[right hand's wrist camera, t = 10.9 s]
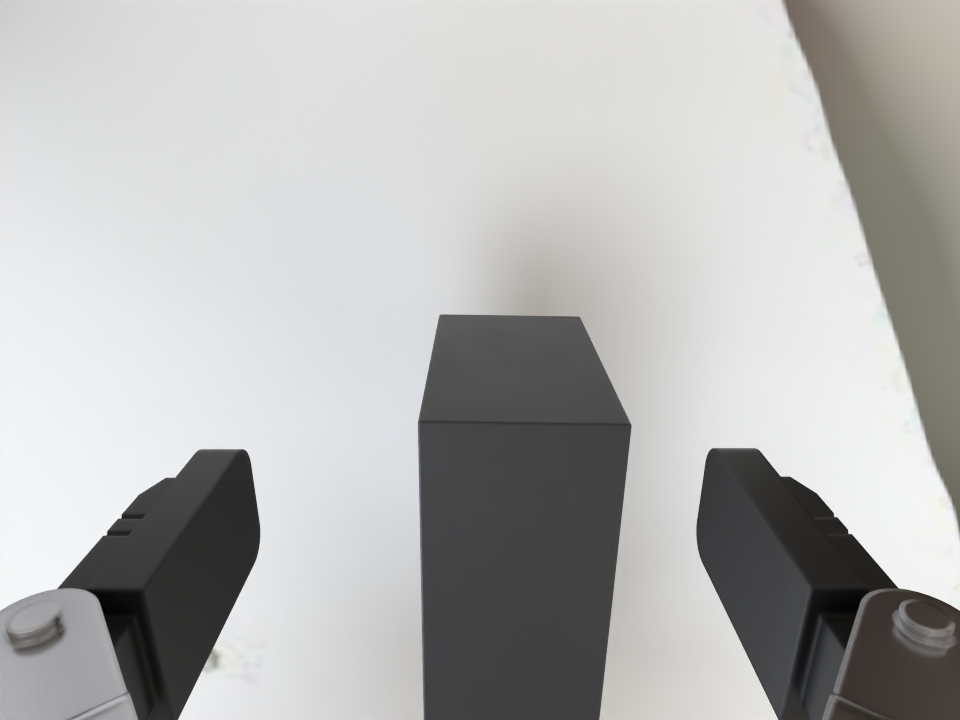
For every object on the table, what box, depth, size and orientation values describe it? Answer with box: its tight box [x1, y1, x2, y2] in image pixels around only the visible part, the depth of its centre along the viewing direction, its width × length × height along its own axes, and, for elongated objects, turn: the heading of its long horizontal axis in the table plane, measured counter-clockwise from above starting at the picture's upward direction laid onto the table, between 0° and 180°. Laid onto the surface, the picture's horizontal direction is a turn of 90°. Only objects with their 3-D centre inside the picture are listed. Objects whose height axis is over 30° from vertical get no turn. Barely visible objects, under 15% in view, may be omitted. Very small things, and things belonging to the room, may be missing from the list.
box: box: [418, 315, 631, 720], centre depth 28 cm, size 27×6×10 cm, turn 179°
